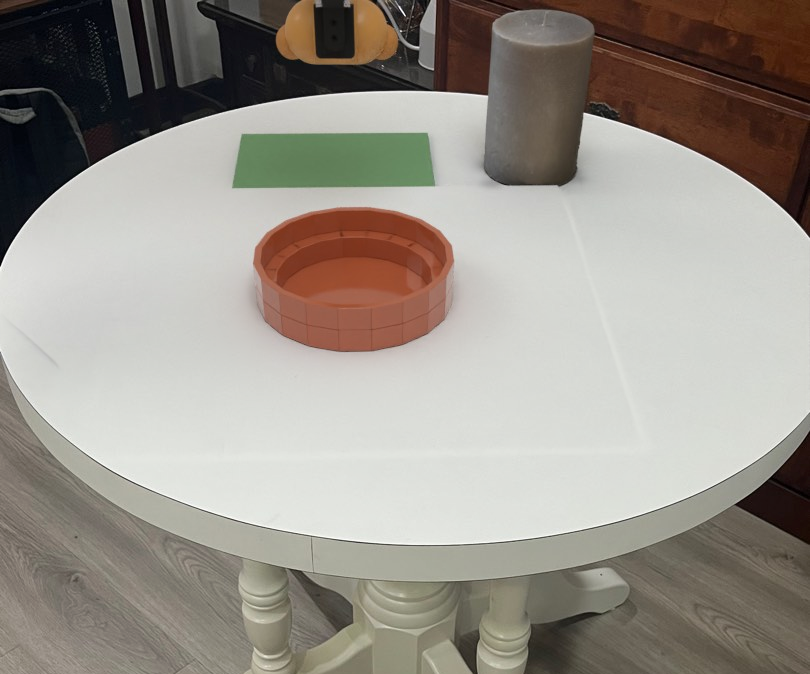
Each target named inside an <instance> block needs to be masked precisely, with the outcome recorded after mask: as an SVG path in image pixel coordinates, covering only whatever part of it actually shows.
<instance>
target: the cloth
mask: <svg viewBox="0 0 810 674" xmlns="http://www.w3.org/2000/svg"><path fill="white" fill-rule="evenodd" d="M429 139H430V138H429V132H342V133H341V132H334V133H333V132H332V133H331V132H329V133H328V132H324V133H323V132H322V133H320V132H319V133H318V132H317V133H314V132H311V133H310V132H309V133H307V132H306V133H305V132H304V133H241V136H240V141H239V148H238V153H237V154H238V155H237V158H236V164H235V170H234V176H233V182H232V187H231V189H298V188H299V189H302V188H303V189H304V188H305V189H307V188H308V189H309V188H311V189H312V188H401V187H402V188H409V187H411V188H415V187H416V188H417V187H419V188H421V187H423V188H424V187H425V188H427V187H428V188H429V187H436V184H435V177H434V169H433V162H432V156H431V155H432V154H431V148H430V140H429Z"/></svg>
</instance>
